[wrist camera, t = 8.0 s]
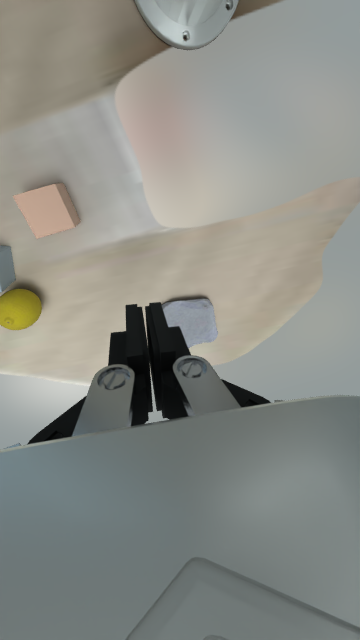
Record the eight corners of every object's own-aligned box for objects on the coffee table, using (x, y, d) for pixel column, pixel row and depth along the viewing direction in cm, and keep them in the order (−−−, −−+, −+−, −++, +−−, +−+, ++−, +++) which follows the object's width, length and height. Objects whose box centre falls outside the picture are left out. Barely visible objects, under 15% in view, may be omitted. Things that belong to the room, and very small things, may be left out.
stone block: (146, 304, 45) (160, 349, 49) (148, 310, 41) (163, 360, 44) (205, 286, 47) (215, 332, 50) (213, 291, 42) (223, 341, 46)
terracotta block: (27, 194, 32) (12, 195, 28) (63, 183, 32) (54, 183, 28) (47, 231, 34) (36, 238, 30) (80, 221, 35) (74, 227, 30)
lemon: (1, 299, 38) (-26, 325, 31) (20, 274, 36) (-4, 295, 30) (36, 318, 40) (18, 346, 34) (54, 295, 39) (40, 319, 32)
